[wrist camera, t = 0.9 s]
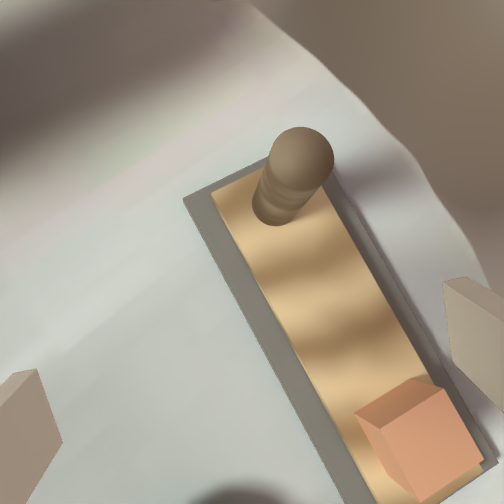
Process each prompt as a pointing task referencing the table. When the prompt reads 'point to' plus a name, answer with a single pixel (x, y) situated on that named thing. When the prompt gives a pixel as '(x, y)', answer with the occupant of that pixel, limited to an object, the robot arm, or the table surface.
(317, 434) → the lane board
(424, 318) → the table surface
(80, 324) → the table surface
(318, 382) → the tan wooden stand
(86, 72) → the table surface
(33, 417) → the robot arm
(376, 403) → the cube
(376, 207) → the table surface
